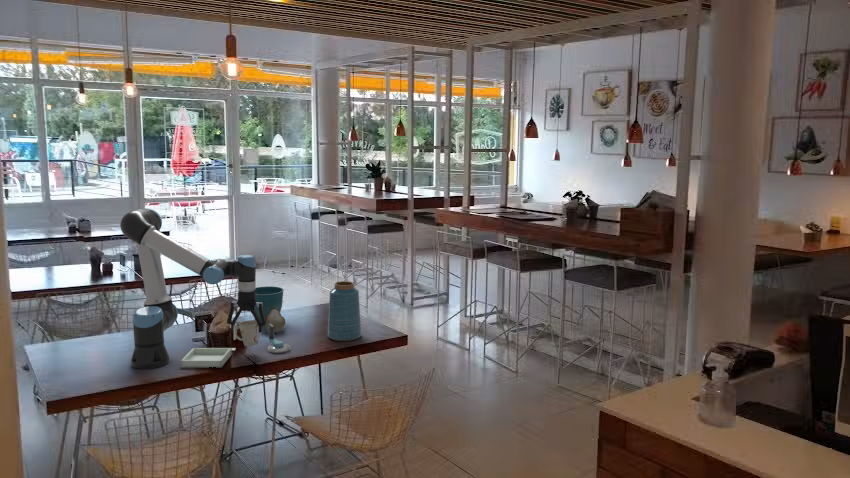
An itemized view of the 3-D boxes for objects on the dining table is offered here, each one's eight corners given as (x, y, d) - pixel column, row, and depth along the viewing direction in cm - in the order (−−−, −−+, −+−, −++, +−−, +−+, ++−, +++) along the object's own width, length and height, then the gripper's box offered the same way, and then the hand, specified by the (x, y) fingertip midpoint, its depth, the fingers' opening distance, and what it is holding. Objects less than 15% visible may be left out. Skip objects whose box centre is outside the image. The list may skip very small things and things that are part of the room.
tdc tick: (226, 350, 300) (226, 349, 300) (228, 349, 302) (228, 348, 302) (234, 350, 300) (234, 349, 300) (235, 349, 302) (235, 348, 302)
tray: (180, 367, 277) (180, 360, 277) (193, 354, 294) (193, 348, 294) (221, 367, 278) (221, 360, 278) (231, 354, 295) (231, 348, 294)
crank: (285, 347, 301) (284, 331, 300) (275, 348, 298) (275, 332, 297) (274, 338, 313) (274, 323, 312) (265, 340, 311) (264, 324, 310)
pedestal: (265, 353, 297) (265, 350, 296) (270, 346, 306) (270, 343, 306) (288, 353, 297) (288, 350, 297) (291, 346, 307) (291, 343, 307)
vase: (367, 338, 320) (367, 284, 316) (337, 344, 311) (336, 288, 307) (351, 330, 334) (351, 278, 329) (322, 335, 324) (321, 282, 320)
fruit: (284, 328, 335) (284, 305, 333) (286, 333, 326) (286, 310, 325) (263, 330, 332) (263, 306, 330) (265, 335, 323) (265, 311, 321)
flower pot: (265, 328, 334) (265, 296, 332) (241, 323, 344) (240, 291, 341) (291, 320, 349) (290, 289, 347) (267, 315, 359) (266, 284, 356)
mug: (254, 347, 290) (251, 325, 289) (229, 347, 294) (226, 325, 293) (264, 341, 298) (261, 320, 297) (239, 341, 302) (237, 320, 301)
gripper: (219, 291, 288) (219, 341, 291) (270, 293, 289) (269, 342, 292) (223, 287, 295) (223, 335, 299) (273, 289, 296) (273, 337, 299)
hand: (246, 339), depth 295 cm, fingers open, 9 cm apart
